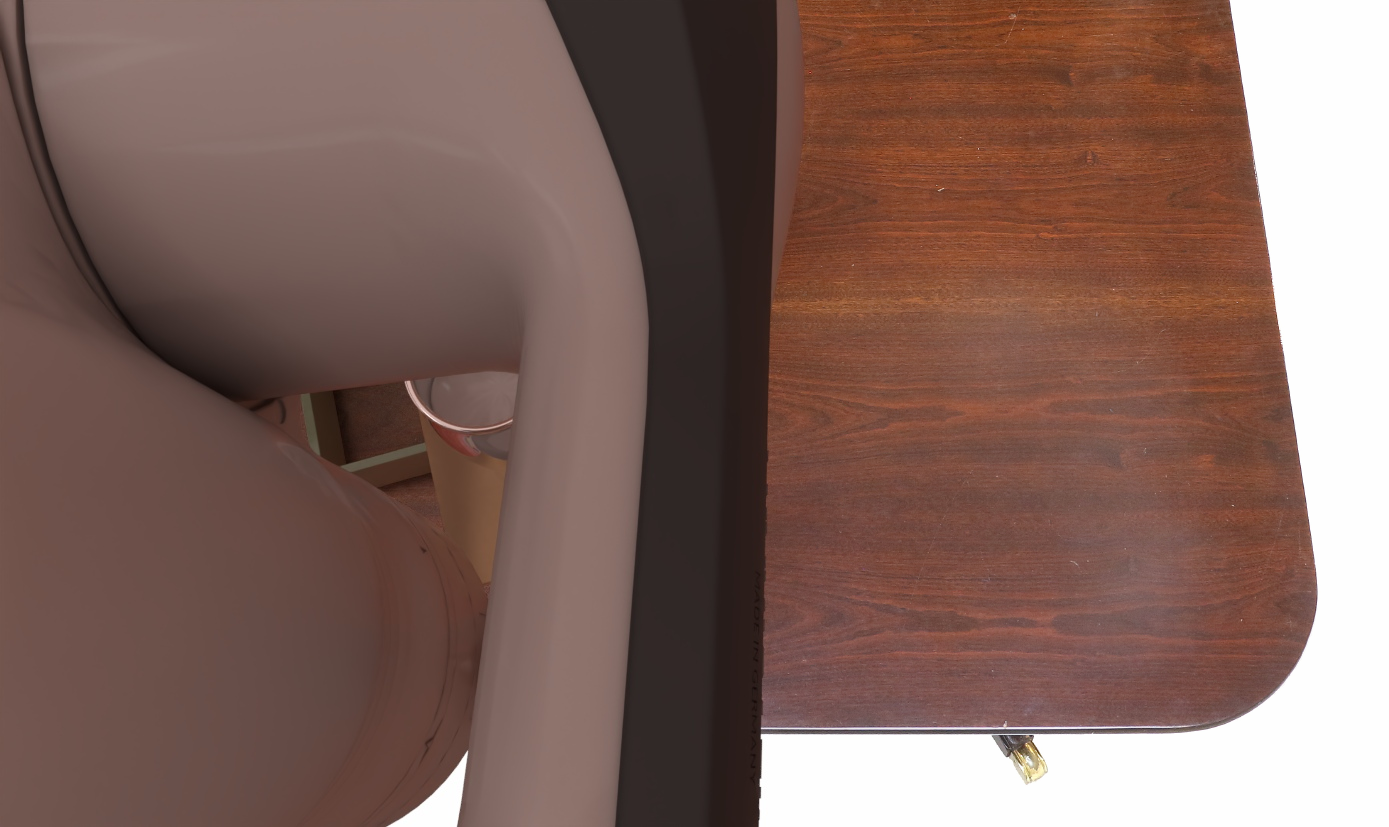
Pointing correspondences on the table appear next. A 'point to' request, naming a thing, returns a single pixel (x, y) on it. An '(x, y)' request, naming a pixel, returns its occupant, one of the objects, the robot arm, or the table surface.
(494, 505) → the square wooden board
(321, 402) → the holder
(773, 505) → the table surface
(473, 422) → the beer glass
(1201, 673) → the table surface
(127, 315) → the robot arm
